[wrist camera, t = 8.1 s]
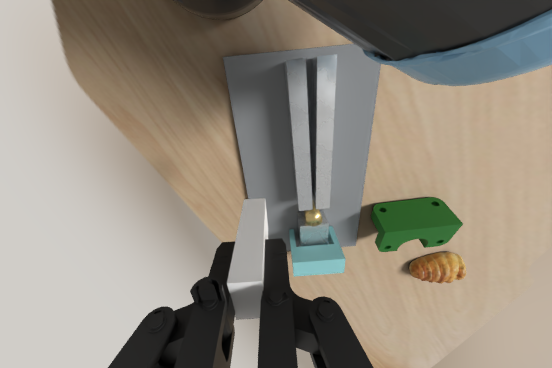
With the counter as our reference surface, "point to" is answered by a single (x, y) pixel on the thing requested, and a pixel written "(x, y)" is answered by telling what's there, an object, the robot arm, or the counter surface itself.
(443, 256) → the pastry
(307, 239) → the tongs body
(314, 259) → the collar
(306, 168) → the arm
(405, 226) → the clamp
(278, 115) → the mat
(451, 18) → the robot arm
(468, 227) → the counter surface
